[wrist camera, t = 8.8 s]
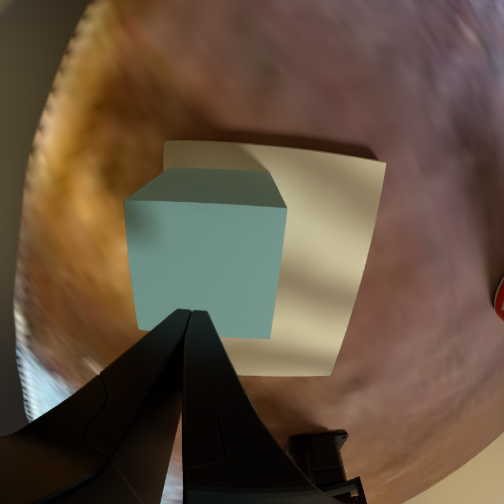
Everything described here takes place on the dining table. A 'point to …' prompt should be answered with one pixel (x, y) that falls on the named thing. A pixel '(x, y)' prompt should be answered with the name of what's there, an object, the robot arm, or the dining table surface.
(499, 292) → the beverage can
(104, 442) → the robot arm
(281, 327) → the board
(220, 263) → the teal rectangular block
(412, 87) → the dining table surface
